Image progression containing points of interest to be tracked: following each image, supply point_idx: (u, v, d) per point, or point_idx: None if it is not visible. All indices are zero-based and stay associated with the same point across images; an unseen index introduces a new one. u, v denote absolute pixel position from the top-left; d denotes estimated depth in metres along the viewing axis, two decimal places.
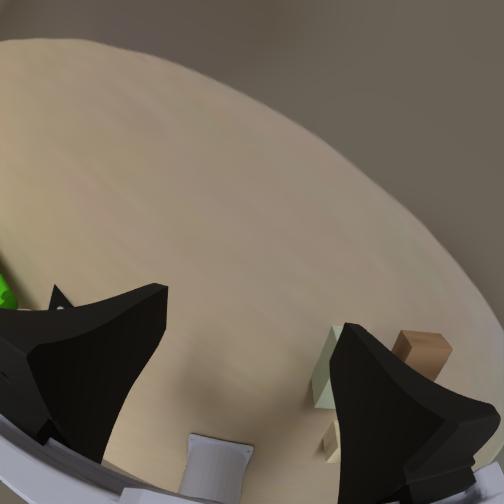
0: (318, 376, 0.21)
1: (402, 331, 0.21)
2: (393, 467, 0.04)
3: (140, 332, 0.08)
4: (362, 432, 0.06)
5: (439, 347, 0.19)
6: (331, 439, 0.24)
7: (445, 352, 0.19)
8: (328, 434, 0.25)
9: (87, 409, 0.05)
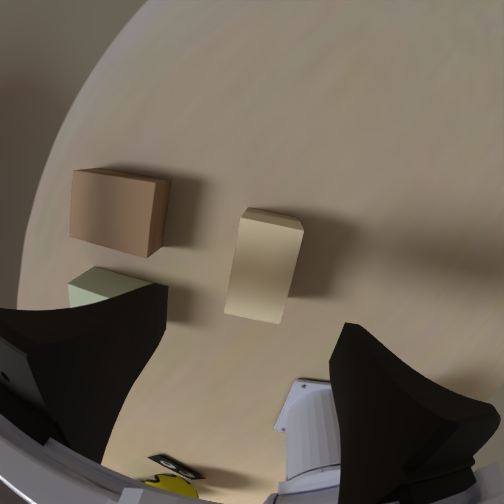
0: None
1: None
2: (393, 467, 0.04)
3: (140, 332, 0.08)
4: (362, 432, 0.06)
5: None
6: None
7: (76, 180, 0.16)
8: None
9: (87, 409, 0.05)
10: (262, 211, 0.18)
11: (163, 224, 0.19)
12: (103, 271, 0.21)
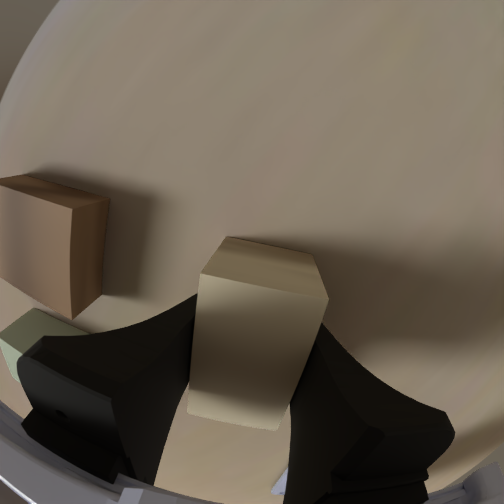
0: None
1: None
2: (323, 472, 0.04)
3: (190, 346, 0.08)
4: (305, 430, 0.06)
5: None
6: None
7: None
8: None
9: (150, 435, 0.05)
10: (250, 245, 0.11)
11: (100, 265, 0.12)
12: (42, 316, 0.13)
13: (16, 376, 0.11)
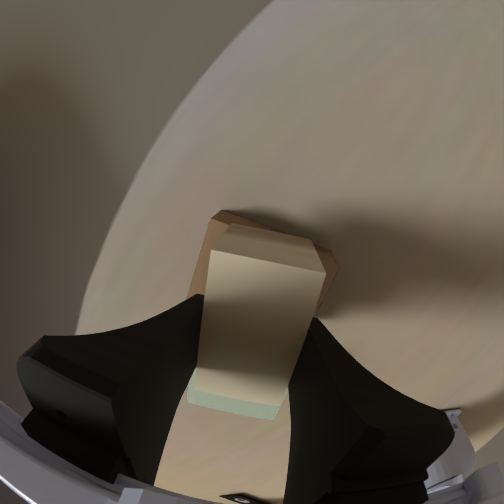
0: None
1: None
2: (323, 471, 0.04)
3: (191, 346, 0.08)
4: (305, 430, 0.06)
5: (202, 247, 0.14)
6: None
7: (214, 234, 0.14)
8: None
9: (150, 435, 0.05)
10: (254, 230, 0.11)
11: None
12: None
13: (195, 400, 0.16)
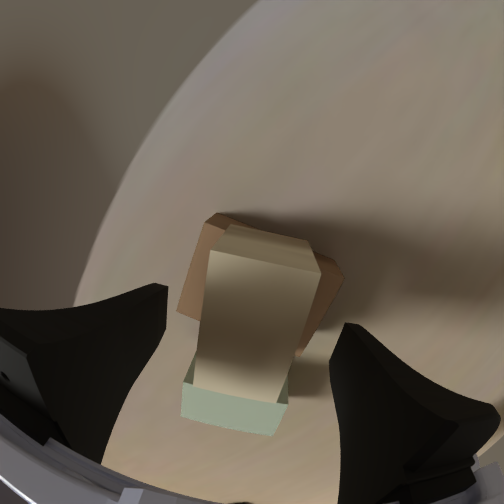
0: None
1: None
2: (393, 467, 0.04)
3: (140, 332, 0.08)
4: (362, 432, 0.06)
5: None
6: None
7: (208, 239, 0.13)
8: None
9: (87, 409, 0.05)
10: (252, 231, 0.12)
11: None
12: None
13: (190, 415, 0.15)
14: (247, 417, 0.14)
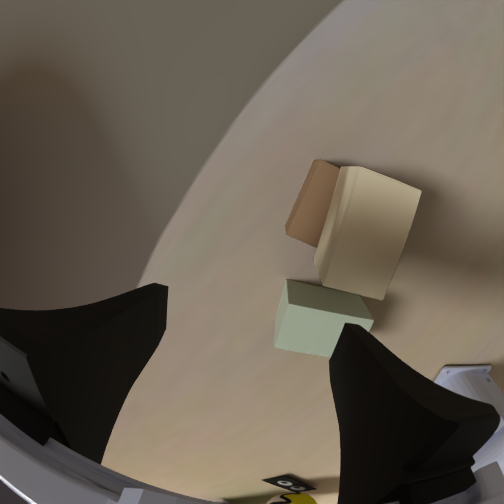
0: None
1: (285, 225, 0.19)
2: (393, 467, 0.04)
3: (140, 332, 0.08)
4: (362, 432, 0.06)
5: (308, 184, 0.16)
6: None
7: (321, 172, 0.16)
8: None
9: (87, 409, 0.05)
10: None
11: None
12: (303, 284, 0.20)
13: (284, 344, 0.18)
14: (338, 338, 0.17)
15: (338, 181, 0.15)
